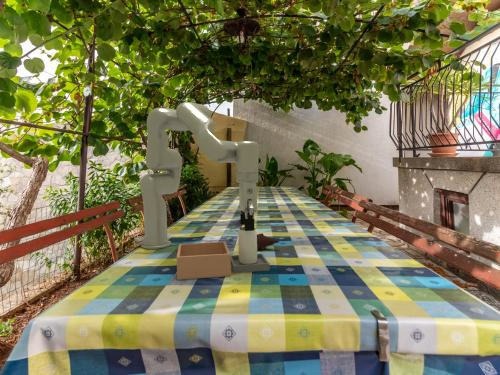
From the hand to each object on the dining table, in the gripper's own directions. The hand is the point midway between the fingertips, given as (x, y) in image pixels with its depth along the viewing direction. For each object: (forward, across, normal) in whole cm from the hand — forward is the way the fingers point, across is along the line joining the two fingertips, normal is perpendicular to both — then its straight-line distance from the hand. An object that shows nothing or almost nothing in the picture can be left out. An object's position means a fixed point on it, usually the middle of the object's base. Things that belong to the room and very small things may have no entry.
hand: (247, 227), depth 109 cm
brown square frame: (+14, -1, +15) cm, 20 cm away
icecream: (+14, +19, -9) cm, 26 cm away
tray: (+13, -1, -1) cm, 13 cm away
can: (+13, +1, -1) cm, 13 cm away
